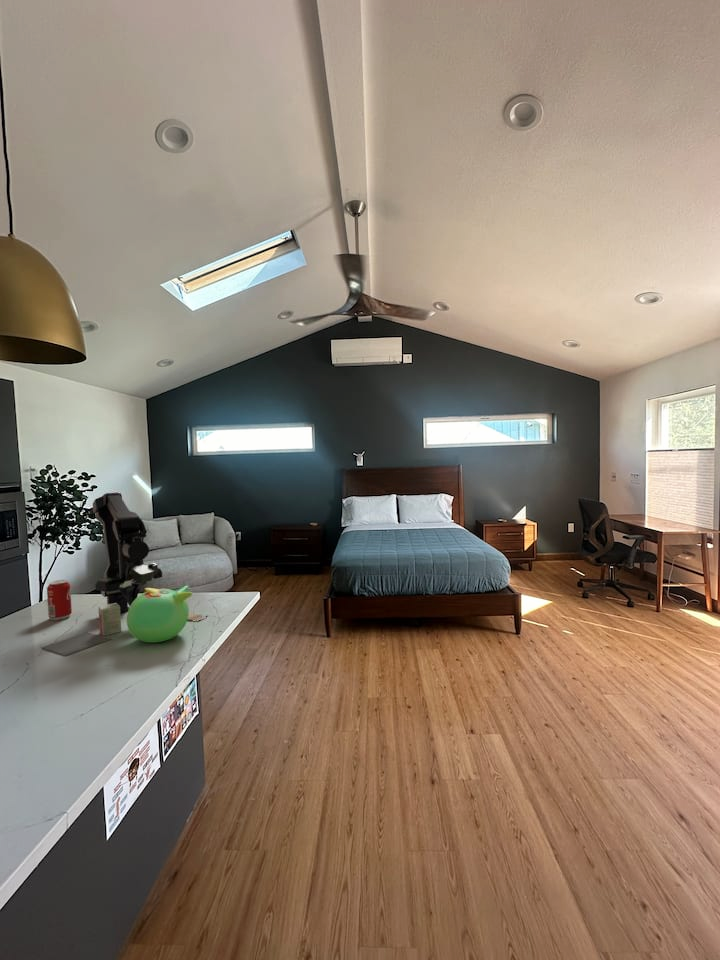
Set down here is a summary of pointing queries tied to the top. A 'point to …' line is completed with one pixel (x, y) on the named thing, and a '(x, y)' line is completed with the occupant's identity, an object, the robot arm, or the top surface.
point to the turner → (194, 617)
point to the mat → (76, 643)
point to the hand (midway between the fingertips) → (132, 606)
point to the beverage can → (59, 599)
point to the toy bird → (158, 614)
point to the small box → (109, 619)
